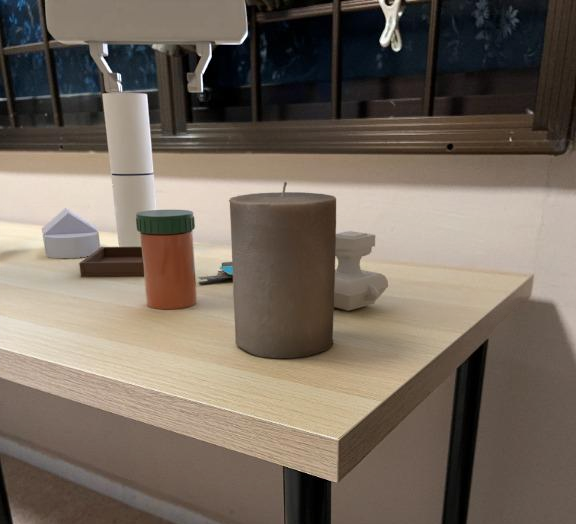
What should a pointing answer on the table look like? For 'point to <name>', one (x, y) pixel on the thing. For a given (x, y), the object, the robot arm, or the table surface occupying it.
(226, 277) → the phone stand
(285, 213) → the pillar candle
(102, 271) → the tray
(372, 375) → the table surface
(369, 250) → the stamp
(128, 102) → the cylindrical container
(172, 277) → the jar
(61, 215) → the wedge on round base
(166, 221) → the jar lid
